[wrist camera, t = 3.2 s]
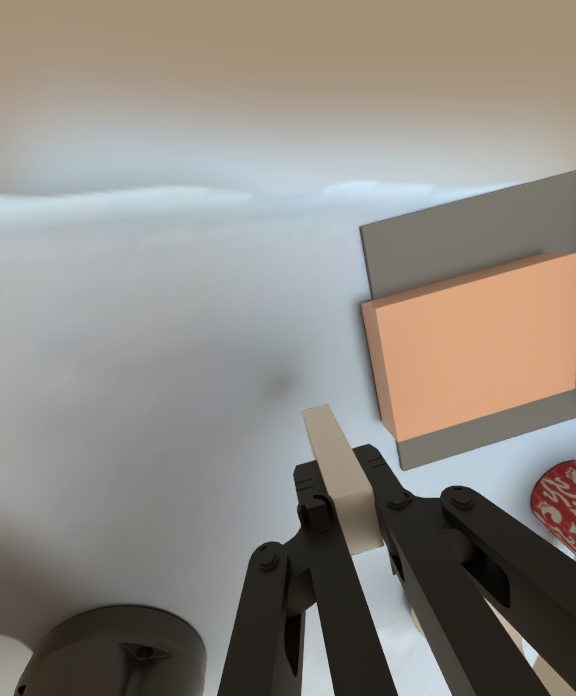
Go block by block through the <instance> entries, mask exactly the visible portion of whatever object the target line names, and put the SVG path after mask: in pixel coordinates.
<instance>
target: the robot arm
mask: <svg viewBox="0 0 576 696" xmlns="http://www.w3.org/2000/svg"><path fill="white" fill-rule="evenodd" d="M302 415H303V419H304V422H305V426H306V430H307V434H308V437H309V441H310V445H311V449H312V452H313V455H314V459H315V460H314V461H311V462H307V463H304V464H300V465H297V466H296V467H295V470H294V474H293V476H294V481H295V487H296V491H297V497H298V502H299V504H298V506H297V513H298V516H299V519H300V523H301V528H300V529H299V531H298V533H297V534H296V535H295V537H293V538H292V539H291V540H289V541H288V542H286V543H285V544H283V545H282V544H280V543H279V542H272V541H271V542H267V543H264V544H262V545H261V546H259V547H258V548H257V549H256V550H255V551H254V552H253V554H252V556H251V558H250V560H249V564H248V569H247V573H246V577H245V581H244V585H243V589H242V594H241V598H240V602H239V606H238V610H237V615H236V619H235V623H234V627H233V631H232V635H231V640H230V644H229V648H228V652H227V656H226V661H225V665H224V669H223V673H222V677H221V682H220V686H219V690H218V694H217V696H301V687H302V669H303V651H304V633H305V615H306V612H305V610H306V609H308V608H309V607H310V606H312V605H313V604H314V603H316V602H317V606H318V612H319V617H320V622H321V627H322V632H323V637H324V642H325V648H326V653H327V658H328V663H329V668H330V673H331V679H332V684H333V689H334V694H335V696H398V694H397V691H396V688H395V685H394V682H393V679H392V676H391V673H390V670H389V667H388V664H387V661H386V658H385V655H384V652H383V649H382V646H381V643H380V641H379V638H378V635H377V632H376V629H375V626H374V623H373V620H372V617H371V614H370V611H369V608H368V605H367V602H366V599H365V596H364V593H363V590H362V587H361V584H360V581H359V579H358V576H357V573H356V570H355V567H354V564H353V561H352V558H351V556H352V555H355V554H359V553H362V552H365V551H369V550H372V549H375V548H378V547H382V546H384V542H383V539H384V541H385V544H386V546H387V548H388V552H389V557H390V562H391V567H392V572H393V575H395V574H397V576H398V578H399V580H400V582H401V584H402V587H403V589H404V591H405V593H406V595H407V598H408V600H409V602H410V604H411V606H412V608H413V611H414V613H415V615H416V617H417V619H418V622H419V624H420V626H421V628H422V630H423V632H424V635H425V637H426V639H427V641H428V643H429V646H430V648H431V650H432V652H433V654H434V656H435V659H436V661H437V663H438V665H439V667H440V670H441V672H442V674H443V676H444V678H445V681H446V683H447V685H448V687H449V689H450V691H451V694H452V696H551V695H550V694H549V692H548V691H547V689H546V688H545V687H544V685H543V684H542V682H541V681H540V679H539V678H538V676H537V675H536V673H535V672H534V670H533V669H532V667H531V666H530V665H529V663H528V662H527V660H526V659H525V657H524V656H523V654H522V653H521V651H520V650H519V648H518V647H517V645H516V644H515V643H514V641H513V640H512V638H511V637H510V635H509V634H508V632H507V631H506V629H505V628H504V626H503V625H502V623H501V622H500V621H499V619H498V618H497V616H496V615H495V613H494V612H493V610H492V609H491V607H490V606H489V604H488V603H487V601H488V602H489V603H490V604H491V605H492V606H493V607H494V608H495V609H496V610H497V611H498V612H499V613H500V614H501V615H502V616H503V617H504V618H505V620H506V621H507V622H508V623H509V624H510V625H511V626H512V627H513V628H514V629H515V630H516V631H517V632H518V633H519V634H520V635H521V636H522V637H523V638H524V639H525V640H526V641H527V642H528V643H529V644H530V645H531V646H532V647H533V648H534V649H535V650H536V651H537V652H538V653H539V655H540V656H541V657H542V658H543V659H544V660H545V661H546V662H547V663H548V664H549V665H550V666H551V667H552V668H553V669H554V670H555V671H556V672H557V673H558V674H559V675H560V676H561V677H562V678H563V679H564V680H565V681H566V682H567V683H568V684H569V685H570V686H571V687H572V688H573V689H574V690H575V691H576V561H574V560H573V559H572V558H570V557H569V556H567V555H566V554H564V553H563V552H562V551H560V550H559V549H557V548H556V547H554V546H553V545H552V544H550V543H549V542H547V541H546V540H545V539H543V538H542V537H540V536H539V535H537V534H536V533H535V532H533V531H532V530H530V529H529V528H528V527H526V526H525V525H523V524H522V523H520V522H519V521H518V520H516V519H515V518H513V517H512V516H511V515H509V514H508V513H506V512H505V511H503V510H502V509H501V508H499V507H498V506H496V505H495V504H493V503H492V502H491V501H489V500H488V499H486V498H485V497H484V496H482V495H481V494H479V493H478V492H476V491H475V490H473V489H471V488H469V487H464V486H451V487H448V488H446V489H445V490H443V491H442V493H441V496H440V498H422V497H418V496H414V495H413V494H412V493H411V492H410V491H408V490H406V489H404V488H403V487H402V485H401V484H400V482H399V481H398V479H397V478H396V476H395V475H394V473H393V472H392V470H391V469H390V467H389V466H388V464H387V463H386V461H385V459H384V458H383V456H382V455H381V453H380V452H379V450H378V449H377V448H375V447H373V446H372V445H370V444H367V445H363V446H360V447H356V448H353V449H351V447H350V445H349V443H348V441H347V439H346V437H345V435H344V433H343V432H342V430H341V428H340V426H339V424H338V422H337V420H336V418H335V416H334V414H333V413H332V411H331V409H330V407H329V405H328V404H325V405H321V406H318V407H314V408H311V409H307V410H304V411H302ZM484 598H485V599H486V600H487V601H486V600H485V599H484ZM206 659H207V658H206V651H205V647H204V645H203V642H202V641H201V639H200V637H199V636H198V634H197V633H196V632H195V631H194V630H193V629H192V628H191V627H190V626H189V625H187V624H186V623H185V622H183V621H182V620H180V619H178V618H176V617H174V616H172V615H170V614H167V613H164V612H161V611H158V610H154V609H149V608H143V607H129V606H126V607H110V608H103V609H98V610H94V611H90V612H87V613H84V614H81V615H78V616H76V617H73V618H71V619H69V620H67V621H66V622H64V623H62V624H60V625H59V626H57V627H56V628H55V629H53V630H52V631H51V632H50V633H49V634H47V635H46V636H45V637H44V638H43V640H42V641H41V642H40V643H39V645H38V646H37V648H36V650H35V651H34V653H33V655H32V657H31V659H30V661H29V663H28V664H27V666H26V668H25V670H24V672H23V674H22V676H21V678H20V680H19V682H18V684H17V687H16V689H15V693H14V696H202V695H203V690H204V681H205V672H206Z"/></svg>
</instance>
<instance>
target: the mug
mask: <svg viewBox="0 0 576 696" xmlns="http://www.w3.org/2000/svg"><path fill="white" fill-rule="evenodd" d="M532 509H533V512H534V514H535V516H536V517H537V518H538V519H539V521H540V522H541V523H543V525H544V526H546V527H547V528H548V529H549V530H550V531H551V532H552V533H553V534H554V535H555V536H556V537H557V538H558V539H559V540H560V541H561V542H562V543H563V544H564V545H565V546H566V547H568V548H569V549H570V550H571V551H572V552H573V553H574V554H575V555H576V460H574V461H568V462H565V463H562V464H560V465H558V466H556V467H554V468H553V469H551V470H550V471H548V472H547V473H546V474H545V475H544V476H543V477H542V478H541V480H540V481H539V482H538V484H537V486H536V488H535V490H534V492H533V495H532Z"/></svg>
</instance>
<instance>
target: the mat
mask: <svg viewBox="0 0 576 696" xmlns="http://www.w3.org/2000/svg"><path fill="white" fill-rule="evenodd" d="M360 231H361V237H362V243H363V248H364V254H365V260H366V266H367V272H368V278H369V284H370V290H371V295H372V300H375V299H379V298H382V297H386V296H390V295H393V294H397V293H400V292H404V291H408V290H411V289H415V288H419V287H422V286H426V285H429V284H433V283H437V282H440V281H444V280H447V279H451V278H455V277H458V276H462V275H465V274H469V273H473V272H476V271H480V270H484V269H487V268H491V267H494V266H498V265H502V264H505V263H509V262H512V261H516V260H520V259H523V258H527V257H531V256H534V255H538V254H541V253H567V252H576V170H575V171H571V172H568V173H564V174H560V175H556V176H552V177H548V178H544V179H541V180H537V181H533V182H529V183H525V184H522V185H518V186H514V187H510V188H506V189H503V190H499V191H495V192H491V193H487V194H483V195H480V196H476V197H472V198H468V199H464V200H461V201H457V202H453V203H449V204H445V205H442V206H438V207H434V208H430V209H426V210H423V211H419V212H415V213H411V214H407V215H404V216H400V217H396V218H392V219H388V220H384V221H381V222H377V223H373V224H369V225H365V226H362V227H360ZM574 418H576V378H575V389H572V390H569V391H565V392H562V393H559V394H555V395H552V396H549V397H546V398H542V399H539V400H536V401H532V402H529V403H526V404H523V405H519V406H516V407H513V408H509V409H506V410H503V411H500V412H496V413H493V414H490V415H486V416H483V417H480V418H477V419H473V420H470V421H467V422H463V423H460V424H457V425H454V426H450V427H447V428H444V429H440V430H437V431H434V432H431V433H427V434H424V435H421V436H417V437H414V438H411V439H408V440H404V441H401V442H397V441H396V442H397V448H398V454H399V460H400V466H401V469H402V470H403V471H406V470H409V469H412V468H416V467H419V466H422V465H425V464H429V463H432V462H435V461H438V460H441V459H445V458H448V457H451V456H454V455H458V454H461V453H464V452H467V451H471V450H474V449H477V448H480V447H483V446H487V445H490V444H493V443H496V442H500V441H503V440H506V439H509V438H512V437H516V436H519V435H522V434H525V433H529V432H532V431H535V430H538V429H541V428H545V427H548V426H551V425H554V424H558V423H561V422H564V421H567V420H571V419H574Z"/></svg>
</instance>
